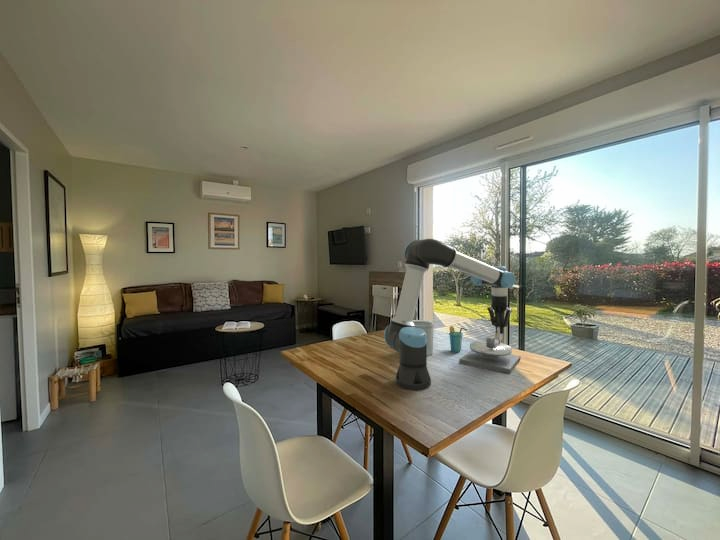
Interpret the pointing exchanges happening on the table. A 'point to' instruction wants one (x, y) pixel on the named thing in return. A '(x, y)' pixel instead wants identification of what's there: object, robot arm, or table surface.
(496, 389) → the table surface
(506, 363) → the stand
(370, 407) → the table surface
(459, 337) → the cup
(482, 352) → the handwheel
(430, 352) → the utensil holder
